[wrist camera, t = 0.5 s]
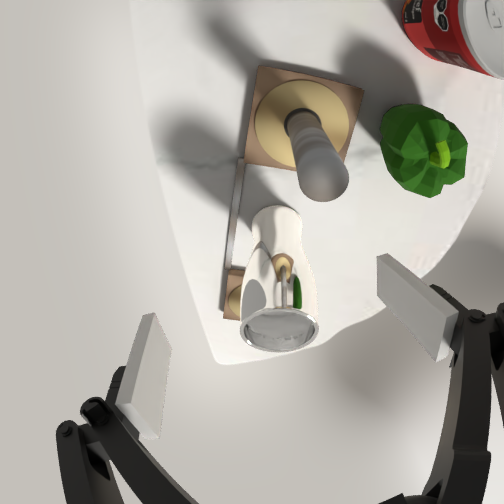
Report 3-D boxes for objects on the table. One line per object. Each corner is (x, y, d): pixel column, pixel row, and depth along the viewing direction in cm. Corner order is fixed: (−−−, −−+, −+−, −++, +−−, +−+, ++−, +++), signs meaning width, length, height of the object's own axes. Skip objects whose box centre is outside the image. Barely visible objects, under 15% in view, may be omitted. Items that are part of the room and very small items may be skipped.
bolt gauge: (252, 64, 23) (239, 78, 13) (360, 88, 23) (423, 126, 13) (220, 311, 46) (209, 386, 36) (284, 319, 47) (286, 394, 37)
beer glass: (244, 244, 37) (232, 348, 25) (252, 196, 32) (242, 301, 21) (297, 252, 37) (306, 356, 26) (312, 207, 33) (333, 312, 21)
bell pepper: (432, 165, 28) (476, 212, 20) (369, 168, 29) (402, 219, 21) (435, 96, 22) (492, 125, 15) (366, 93, 24) (409, 120, 16)
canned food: (432, -17, 14) (498, -26, 5) (471, 45, 17) (540, 63, 9) (383, 8, 17) (443, -3, 9) (427, 72, 21) (493, 96, 12)
